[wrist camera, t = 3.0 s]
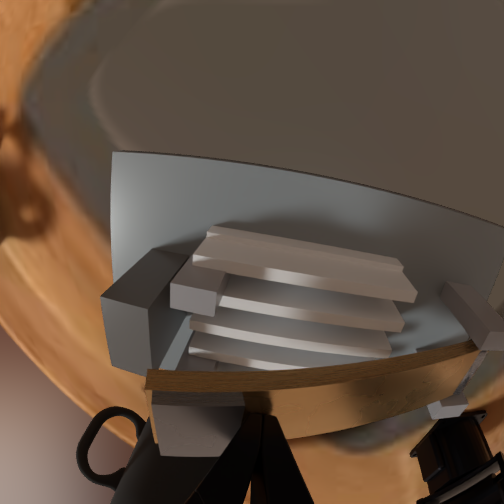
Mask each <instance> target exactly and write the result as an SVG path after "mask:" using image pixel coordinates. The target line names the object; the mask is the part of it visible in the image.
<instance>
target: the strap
mask: <svg viewBox="0 0 504 504" xmlns="http://www.w3.org/2000/svg"><path fill="white" fill-rule="evenodd" d="M488 351H489V350H479V349H478V347H477V346H476V345H475V343H474V342H473V340H472V339H471V340H469V341H465V342H461V343H457V344H453V345H449V346H445V347H441V348H436V349H432V350H427V351H423V352H418V353H413V354H407V355H402V356H397V357H391V358H385V359H379V360H372V361H365V362H358V363H351V364H343V365H334V366H324V367H314V368H302V369H288V370H269V371H236V372H209V371H175V370H157V369H147V375H146V384H145V393H146V399H147V405H148V411H149V416H150V422H151V427H152V432H153V436H154V441H155V443H158V445H159V449H160V454H161V456H181V457H216V456H220V455H221V454H222V453H223V451H224V450H225V448H226V447H227V445H228V444H229V443H230V441H231V440H232V438H233V437H234V435H235V434H236V432H237V431H238V429H239V428H240V426H241V425H242V423H243V422H244V420H245V419H246V417H247V416H248V414H249V413H251V412H253V413H260V414H262V415H264V414H267V415H274V416H276V417H277V418H278V421H279V423H280V426H281V428H282V430H283V433H284V435H285V438H286V439H292V438H299V437H306V436H312V435H318V434H323V433H328V432H333V431H338V430H343V429H347V428H352V427H356V426H360V425H364V424H368V423H372V422H376V421H379V420H383V419H386V418H390V417H393V416H396V415H399V414H403V413H406V412H409V411H412V410H415V409H418V408H420V407H423V406H426V405H429V404H431V403H434V402H437V401H439V400H442V399H444V398H447V397H449V396H451V395H459V394H461V393H462V391H463V390H464V389H465V387H466V386H467V384H468V383H469V381H470V380H471V378H472V377H473V375H474V374H475V372H476V371H477V369H478V368H479V366H480V364H481V363H482V361H483V360H484V358H485V356H486V355H487V353H488Z"/></svg>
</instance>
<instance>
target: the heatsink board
mask: <svg viewBox="0 0 504 504" xmlns="http://www.w3.org/2000/svg"><path fill="white" fill-rule="evenodd" d="M111 250H112V268H113V282H114V284H113V285H112V286H111V287H110V288H108V289H107V290H106V291H105V292H104V293H103V294H102V295H101V296H100V299H101V306H102V313H103V320H104V326H105V332H106V338H107V344H108V349H109V354H110V359H111V364H112V366H114V367H117V368H120V369H123V370H126V371H129V372H132V373H135V374H138V375H141V376H145V377H146V375H147V369H157V370H158V369H159V368H162V369H166V370H175V371H209V372H236V371H269V370H288V369H302V368H314V367H324V366H334V365H343V364H351V363H358V362H365V361H372V360H379V359H385V358H391V357H397V356H402V355H407V354H413V353H418V352H423V351H427V350H432V349H436V348H441V347H445V346H449V345H453V344H457V343H461V342H465V341H467V340H468V338H469V337H470V338H471V339H472V340H473V342H474V343H475V345H476V346H477V347H478V349H479V350H504V320H503V318H502V317H501V316H500V315H499V314H498V313H497V312H496V311H495V310H494V309H493V308H492V307H491V306H490V305H489V304H488V302H487V299H488V297H489V295H490V292H491V290H492V288H493V286H494V283H495V281H496V278H497V276H498V273H499V270H500V268H501V265H502V262H503V259H504V227H503V226H500V225H498V224H495V223H492V222H489V221H487V220H484V219H481V218H478V217H475V216H472V215H470V214H467V213H464V212H460V211H457V210H454V209H451V208H448V207H445V206H442V205H438V204H435V203H431V202H428V201H425V200H421V199H417V198H414V197H411V196H407V195H403V194H400V193H396V192H392V191H388V190H384V189H380V188H376V187H372V186H368V185H364V184H359V183H355V182H351V181H345V180H342V179H336V178H332V177H327V176H322V175H317V174H312V173H307V172H302V171H296V170H291V169H284V168H279V167H273V166H267V165H261V164H254V163H247V162H240V161H233V160H225V159H217V158H209V157H200V156H191V155H180V154H168V153H156V152H142V151H125V150H122V151H114V152H113V155H112V173H111ZM468 405H469V403H468V401H467V399H466V397H465V395H464V393H463V392H462V393H461V394H459V395H451V396H449V397H447V398H444V399H442V400H439V401H437V402H434V403H431V404H429V405H427V407H428V409H429V412H430V415H431V417H432V419H441V418H450V417H458V416H460V415H461V413H462V412H463V411H464V410H465V408H466V407H467V406H468Z"/></svg>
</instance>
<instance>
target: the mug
mask: <svg viewBox="0 0 504 504" xmlns="http://www.w3.org/2000/svg"><path fill="white" fill-rule="evenodd" d="M114 416H124V417H126V418H128V419H130V420H131V421H132V422H133V423H134V425H135V427H136V437H137V439H138V441H137V444H136V446H135V448H134V450H133V453H132V455H131V457H130V460H129V462H128V464H127V466H126V468H121V469H119V470H118V471H116V472H115V473H112V474H109V475H98V474H96V473H94V472H93V471H92V470H91V468H90V466H89V464H88V458H87V454H88V450H89V447H90V445H91V443H92V442H93V440H94V438H95V436H96V434H97V433H98V431H99V429H100V427H101V426H102V424H103V423H104V422H105V421H106V420H108V419H109V418H111V417H114ZM219 457H220V456H216V457H181V456H161V454H160V449H159V445H158V443H155V441H154V436H153V432H152V427H151V422H150V416H149V417H148V419H147V422H145V421H144V420H143V419H142V418H141V417H140V416H139V415H138V414H137V413H135V412H134V411H132V410H130V409H127V408H123V407H118V406H114V407H109V408H106V409H104V410H102V411H100V412H99V413H98V414H97V415H96V416H95V417H94V418H93V419H92V421H91V422H90V424H89V426H88V427H87V429H86V431H85V433H84V434H83V436H82V438H81V440H80V442H79V443H78V447H77V451H76V459H77V464H78V467H79V469H80V471H81V472H82V474H83V475H84V476H85V477H86V478H87V479H88V480H90V481H92V482H93V483H95V484H98V485H102V486H106V487H109V488H111V489H113V490H114V491H115V494H114V497H113V499H112V501H111V504H184V503H185V502H186V501H187V499H188V498H189V497H190V496H191V494H192V493H193V492H194V491H195V489H196V488H197V487H198V485H199V484H200V483H201V481H202V480H203V479H204V477H205V476H206V475H207V473H208V472H209V471H210V469H211V468H212V467H213V465H214V464H215V462H216V461H217V460H218V458H219Z"/></svg>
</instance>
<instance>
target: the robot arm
mask: <svg viewBox="0 0 504 504" xmlns="http://www.w3.org/2000/svg"><path fill="white" fill-rule="evenodd" d="M486 416H487V412H486V410H484V411H478V412H472V413H465V414H461V415H460V416H458V417H450V418H441V419H439V421H438V422H437V423H436V424H435V425H434V427H433V428H432V429H431V430H430V431H429V432H428V434H427V435H426V436H425V437H424V438H423V439H422V440H421V441H420V443H419V444H418V445H417V446H416V447H415V448H414V449H413V450H412V451H411V452H410V457H418V461H419V465H420V469H421V473H422V477H423V480H424V482H427V484H428V488H429V493H430V495H429V496H427V497H425V498H421V499H419V500H417V502H416V504H504V455H503V453H502V452H501V451H500V452H498V453H497V454H496V455H495V456H494V457H493V455H492V453H491V451H490V448H489V446H488V443H487V441H486V439H485V436H484V434H483V432H482V430H481V427H480V425H479V424H480V423H481V422H482V421H483V419H484V418H485V417H486ZM499 470H500V471H501V473H499V474H498V475H495V473H496V472H498V471H499ZM250 481H251V497H250V504H314V502H313V499H312V497H311V495H310V493H309V491H308V488H307V486H306V484H305V482H304V479H303V477H302V475H301V473H300V470H299V468H298V466H297V463H296V461H295V459H294V456H293V454H292V452H291V449H290V447H289V445H288V442H287V440H286V438H285V435H284V433H283V430H282V428H281V426H280V423H279V421H278V418H277V417H276V416H274V415H267V414H264V415H262V414H260V413H253V412H251V413H249V414H248V416H247V417H246V419H245V420H244V422H243V423H242V425H241V426H240V428H239V429H238V431H237V432H236V434H235V435H234V437H233V438H232V440H231V441H230V443H229V444H228V445H227V447H226V448H225V450H224V451H223V453H222V454H221V455H220V457H219V458H218V460H217V461H216V462H215V464H214V465H213V467H212V468H211V469H210V471H209V472H208V473H207V475H206V476H205V477H204V479H203V480H202V481H201V483H200V484H199V485H198V487H197V488H196V489H195V491H194V492H193V493H192V494H191V496H190V497H189V498H188V499H187V501H186V502H185V503H184V504H243V503H244V500H245V497H246V493H247V490H248V487H249V484H250Z"/></svg>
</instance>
